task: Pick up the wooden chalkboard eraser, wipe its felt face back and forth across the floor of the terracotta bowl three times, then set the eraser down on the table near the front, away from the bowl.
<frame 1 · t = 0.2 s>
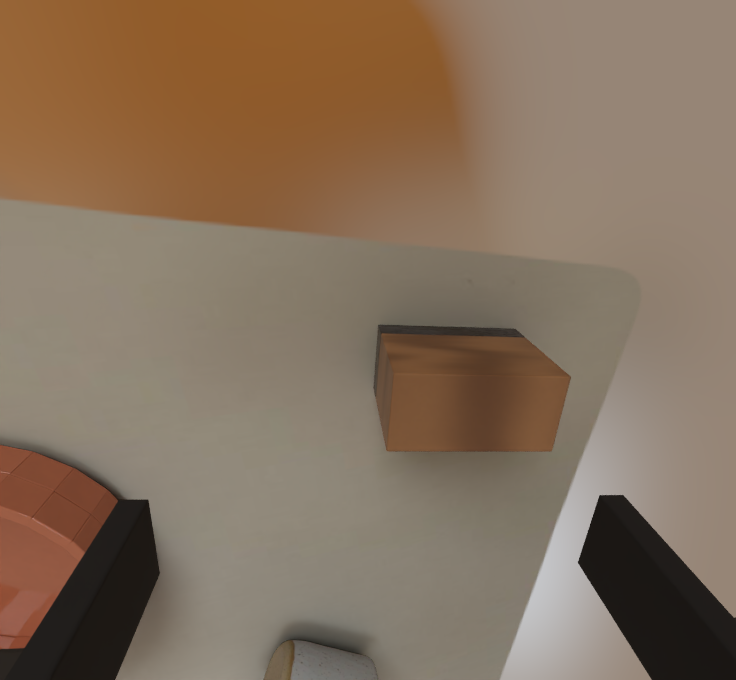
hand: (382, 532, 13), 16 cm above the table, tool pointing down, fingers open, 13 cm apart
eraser: (443, 358, 28), on the table
ceramic mug: (314, 661, 39), on the table
terracotta bowl: (10, 551, 31), on the table
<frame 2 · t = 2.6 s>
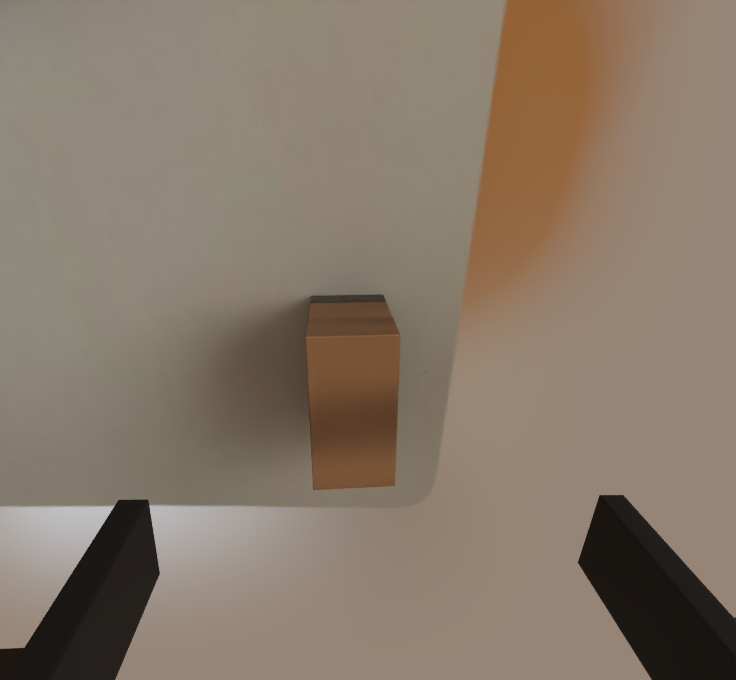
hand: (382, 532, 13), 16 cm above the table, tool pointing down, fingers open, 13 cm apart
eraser: (348, 361, 28), on the table
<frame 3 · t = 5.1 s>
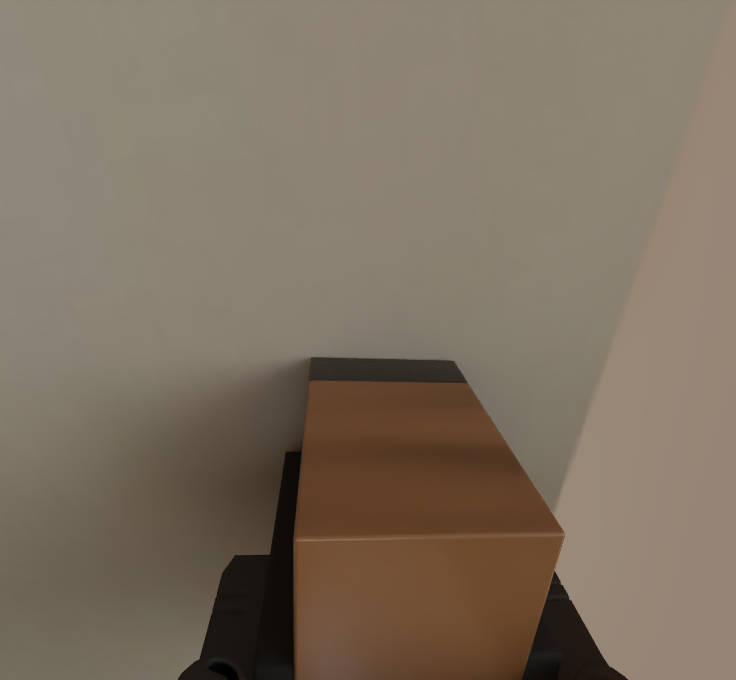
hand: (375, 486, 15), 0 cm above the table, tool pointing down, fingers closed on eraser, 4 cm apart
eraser: (374, 476, 15), on the table, touching gripper
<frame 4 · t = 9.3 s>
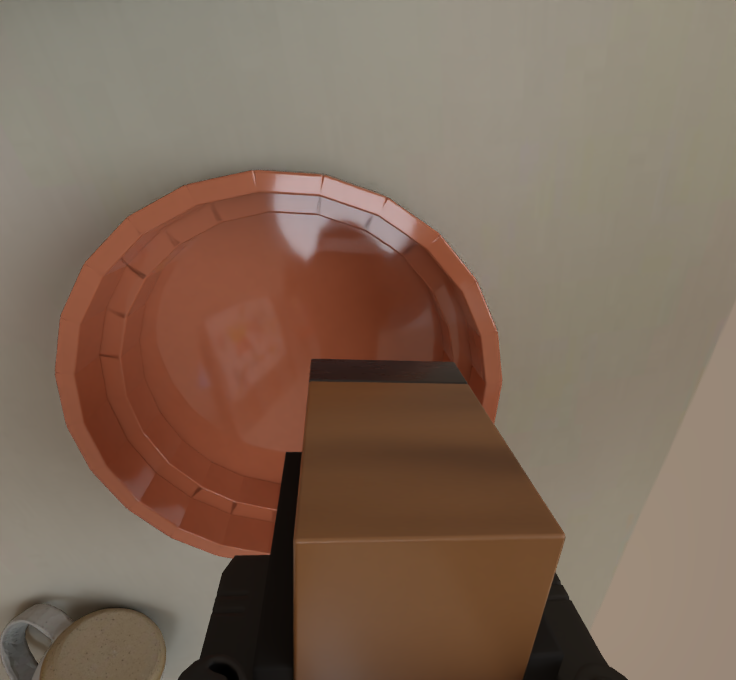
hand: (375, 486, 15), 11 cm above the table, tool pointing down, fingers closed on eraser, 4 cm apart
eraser: (374, 477, 15), point 10 cm above the table, touching gripper
ceramic mug: (99, 633, 31), on the table
terracotta bowl: (297, 358, 24), on the table
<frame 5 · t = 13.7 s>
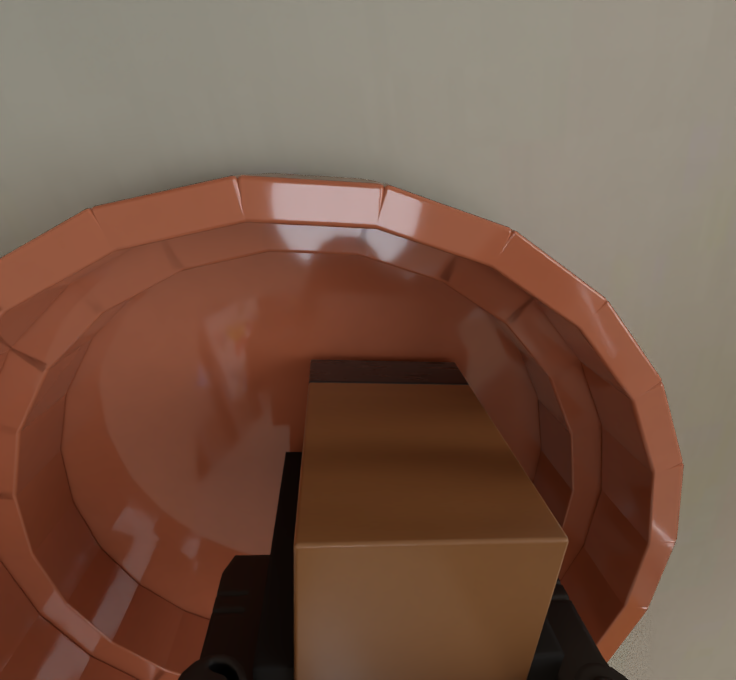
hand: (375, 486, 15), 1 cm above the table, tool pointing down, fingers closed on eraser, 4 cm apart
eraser: (374, 478, 15), point 1 cm above the table, touching gripper
terracotta bowl: (314, 463, 16), on the table
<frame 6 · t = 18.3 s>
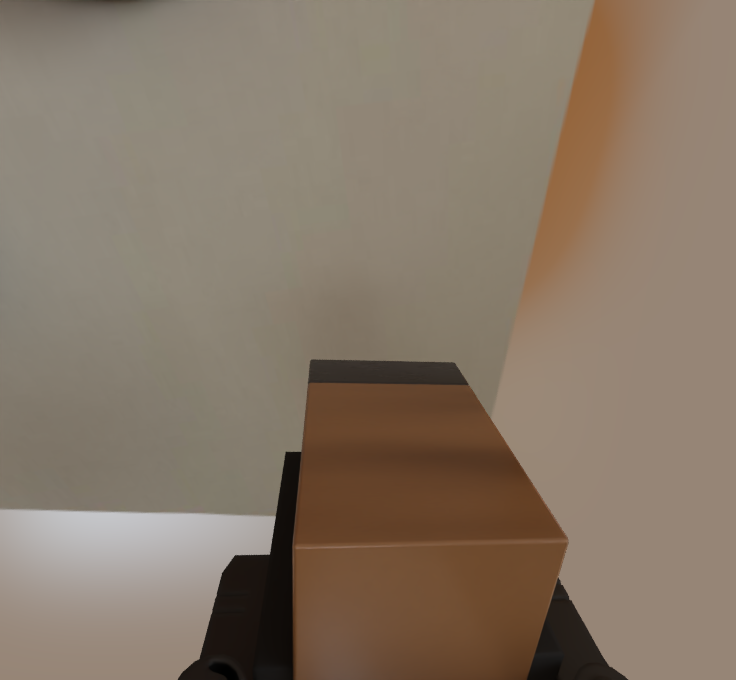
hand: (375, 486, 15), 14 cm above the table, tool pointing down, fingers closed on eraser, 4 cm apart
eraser: (374, 478, 15), point 14 cm above the table, touching gripper
when the fingers open (0 cm above the table, at t = 22.2 s): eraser stays where it is, on the table.
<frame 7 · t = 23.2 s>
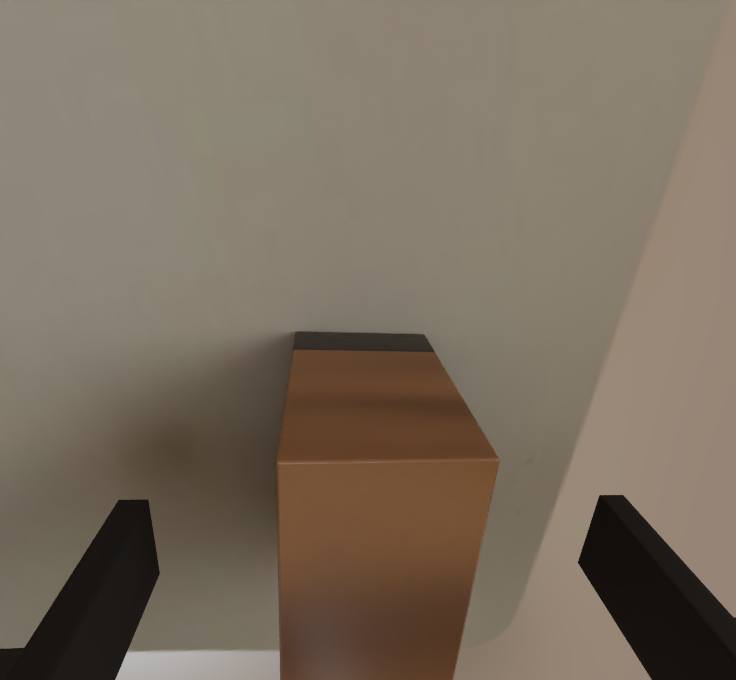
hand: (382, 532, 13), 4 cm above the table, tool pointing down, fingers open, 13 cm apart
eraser: (354, 441, 17), on the table
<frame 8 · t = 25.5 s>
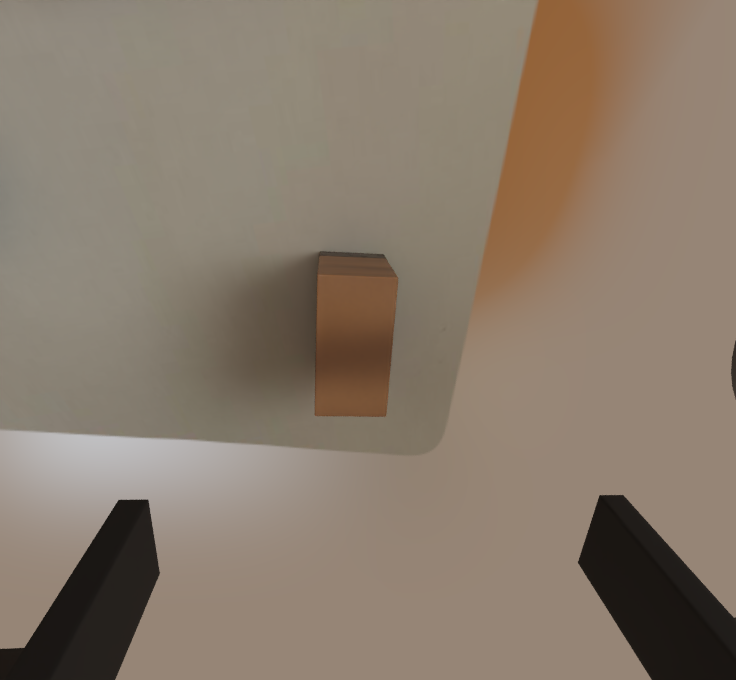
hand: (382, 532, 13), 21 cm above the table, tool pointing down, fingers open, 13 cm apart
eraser: (349, 313, 32), on the table
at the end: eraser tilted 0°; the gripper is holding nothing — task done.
